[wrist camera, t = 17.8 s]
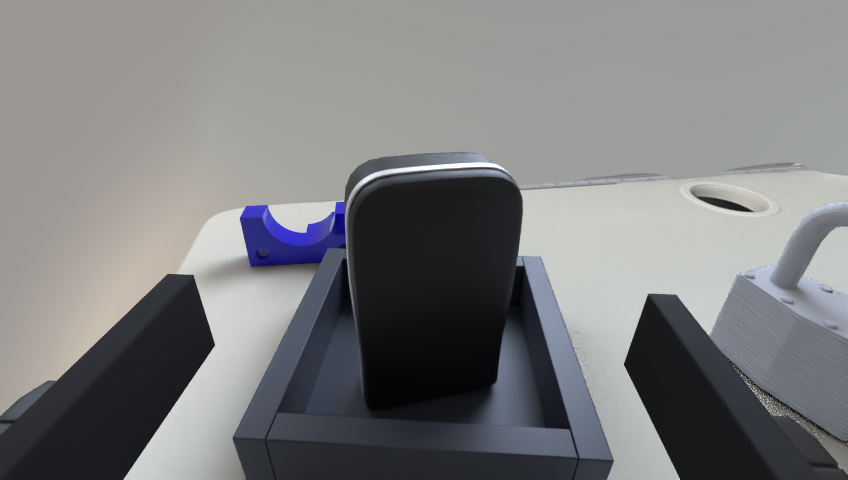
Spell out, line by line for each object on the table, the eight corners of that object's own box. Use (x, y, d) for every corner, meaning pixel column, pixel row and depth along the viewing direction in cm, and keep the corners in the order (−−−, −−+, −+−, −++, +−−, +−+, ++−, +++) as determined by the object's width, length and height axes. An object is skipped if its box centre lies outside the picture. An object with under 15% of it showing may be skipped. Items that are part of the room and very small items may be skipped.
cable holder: (359, 237, 35) (356, 193, 33) (359, 259, 32) (356, 212, 30) (259, 243, 34) (250, 197, 32) (250, 266, 31) (239, 218, 29)
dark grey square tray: (250, 495, 17) (231, 438, 15) (333, 293, 28) (328, 247, 26) (592, 518, 16) (614, 461, 14) (532, 302, 28) (540, 256, 26)
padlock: (697, 342, 25) (768, 183, 20) (746, 328, 26) (825, 175, 21) (833, 448, 19) (983, 260, 14) (889, 424, 20) (1046, 242, 15)
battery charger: (475, 336, 24) (495, 139, 18) (502, 387, 21) (536, 167, 15) (353, 357, 22) (333, 148, 17) (362, 417, 19) (341, 183, 14)
